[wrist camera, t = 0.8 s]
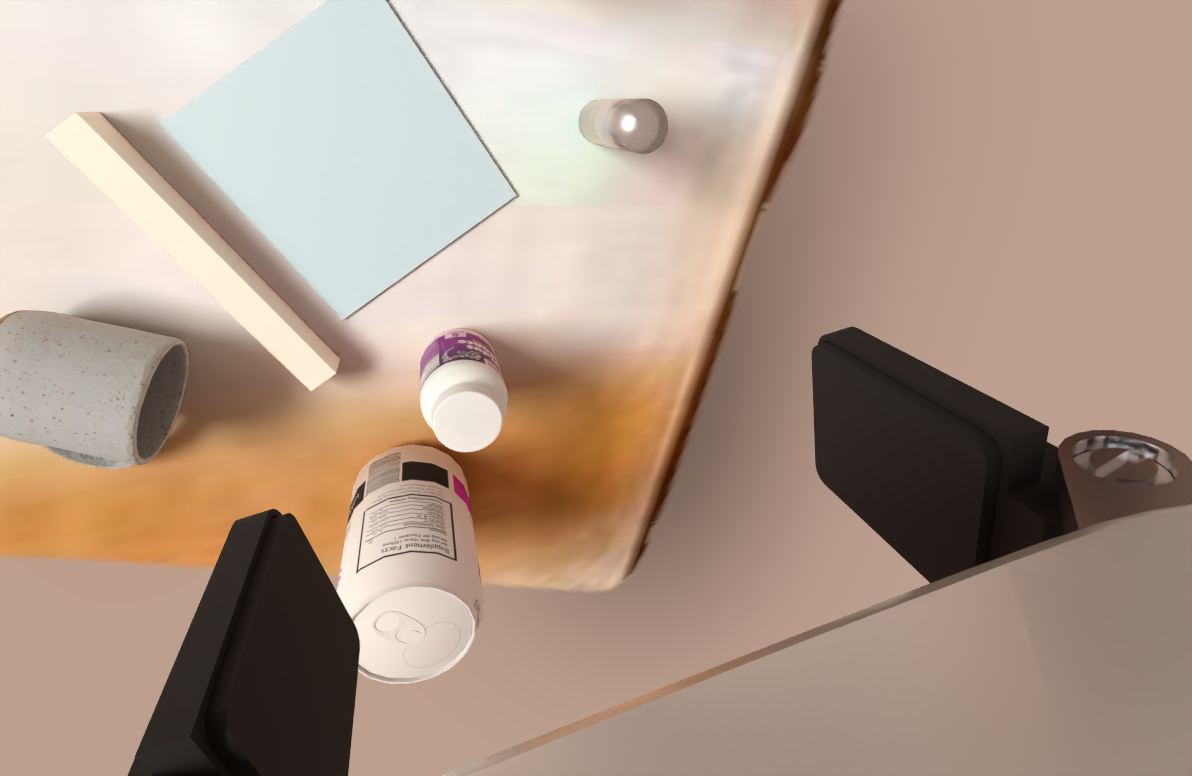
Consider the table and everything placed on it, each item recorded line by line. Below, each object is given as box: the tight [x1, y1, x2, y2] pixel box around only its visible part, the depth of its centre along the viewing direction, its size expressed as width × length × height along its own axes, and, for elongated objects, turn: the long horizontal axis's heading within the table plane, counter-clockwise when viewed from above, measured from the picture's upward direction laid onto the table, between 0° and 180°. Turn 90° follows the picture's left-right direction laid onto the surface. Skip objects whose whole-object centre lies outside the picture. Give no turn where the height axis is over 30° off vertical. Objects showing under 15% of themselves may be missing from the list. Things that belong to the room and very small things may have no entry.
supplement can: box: [337, 444, 484, 683], centre depth 40 cm, size 8×8×15 cm
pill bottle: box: [420, 329, 508, 452], centre depth 39 cm, size 5×5×10 cm
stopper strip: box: [45, 112, 340, 391], centre depth 36 cm, size 18×2×2 cm, turn 32°
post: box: [579, 99, 668, 154], centre depth 36 cm, size 3×3×9 cm
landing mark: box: [160, 0, 516, 320], centre depth 37 cm, size 14×14×1 cm
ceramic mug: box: [0, 310, 189, 469], centre depth 35 cm, size 11×8×8 cm
